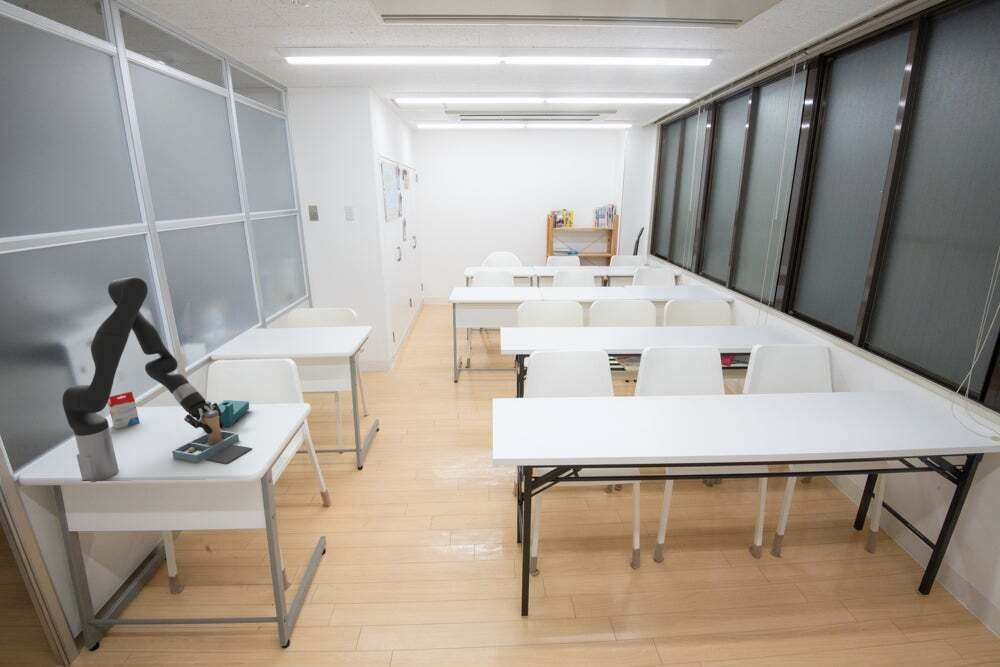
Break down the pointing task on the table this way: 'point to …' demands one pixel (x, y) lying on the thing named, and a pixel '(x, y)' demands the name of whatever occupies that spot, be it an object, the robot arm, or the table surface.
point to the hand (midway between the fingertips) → (216, 429)
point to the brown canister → (213, 427)
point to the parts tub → (203, 447)
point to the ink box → (123, 410)
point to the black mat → (228, 454)
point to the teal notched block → (231, 410)
